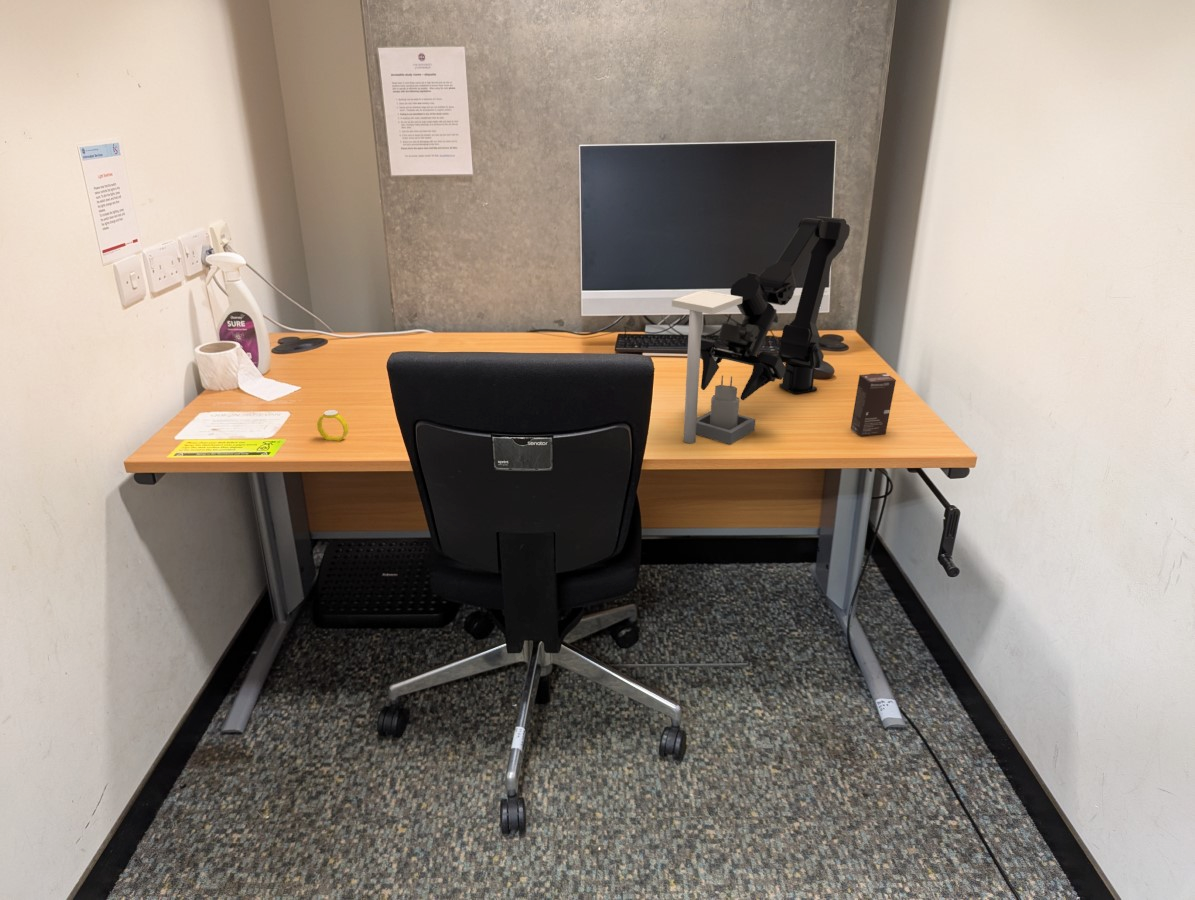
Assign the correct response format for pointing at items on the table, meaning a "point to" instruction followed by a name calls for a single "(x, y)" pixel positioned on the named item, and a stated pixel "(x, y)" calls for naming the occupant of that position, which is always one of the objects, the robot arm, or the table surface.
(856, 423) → the box
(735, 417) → the power adapter
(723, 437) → the tall pedestal stand
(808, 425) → the table surface
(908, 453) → the table surface
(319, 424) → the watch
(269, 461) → the table surface
